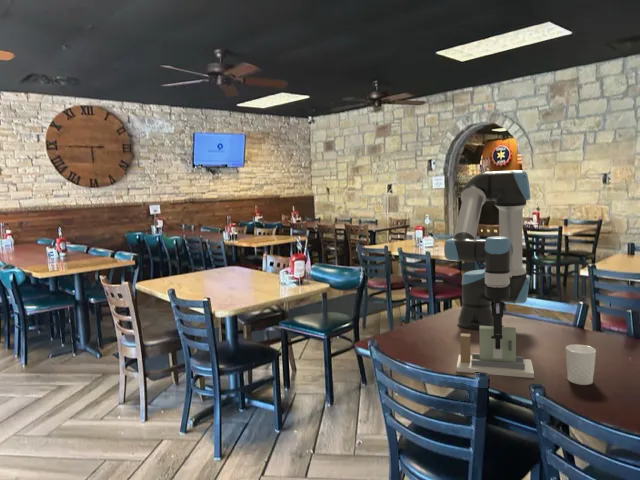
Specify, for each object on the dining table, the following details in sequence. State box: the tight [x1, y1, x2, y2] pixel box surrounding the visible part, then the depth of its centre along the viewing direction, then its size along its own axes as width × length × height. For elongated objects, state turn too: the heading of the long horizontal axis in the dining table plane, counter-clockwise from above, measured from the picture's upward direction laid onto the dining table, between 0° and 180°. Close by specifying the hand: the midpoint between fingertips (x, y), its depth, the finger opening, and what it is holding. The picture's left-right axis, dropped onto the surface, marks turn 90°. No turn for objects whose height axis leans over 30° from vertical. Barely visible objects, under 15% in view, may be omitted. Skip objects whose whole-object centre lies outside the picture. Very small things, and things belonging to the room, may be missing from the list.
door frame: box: [456, 332, 535, 379], centre depth 158 cm, size 23×12×10 cm, turn 71°
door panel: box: [478, 326, 517, 362], centre depth 157 cm, size 11×4×12 cm, turn 71°
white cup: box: [565, 343, 597, 386], centre depth 146 cm, size 8×8×10 cm
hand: (497, 352), depth 158 cm, fingers open, 9 cm apart
